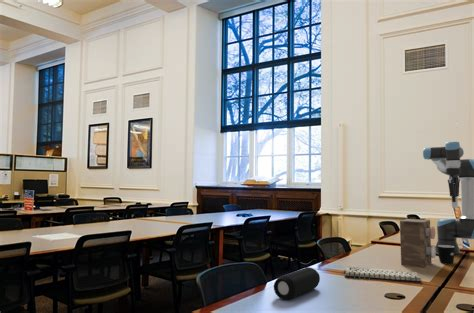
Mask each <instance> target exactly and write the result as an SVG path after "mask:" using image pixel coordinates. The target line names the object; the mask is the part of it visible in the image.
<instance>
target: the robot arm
mask: <svg viewBox="0 0 474 313" xmlns="http://www.w3.org/2000/svg"><path fill="white" fill-rule="evenodd" d="M463 149H464V148H462V147H461V145H460V142H459V141H447V142H445V146H436V147H435V146H433V147H431V146H430V147H424V148H423V150H422V157H423V158H424V160H431V162H433V164H435V166H436V169H437V170H438V171H439V172H440V173H442V174H444V175H447V176H449V177H448V179H447V183H448V189H449V191H448V192H449V197H451V207H452V208H453V209H455V208H457V209H458V207H459V204H458V202H459V200H458V197H460V196H461V200H460V201H461V216H459V217H458V218H459V220H457V219H456V218H442V219H437V221H436V227H437V228H436V235H437V243H436V245H435V248H436V254H438V245H449V246H454V248H455V252H454V255H459V254H461V249H460V247H459V244H458V241H457V239H467V240H474V159H473V158H471V159H470V158H466V159H461V158H462V157H463V156H464V154H465V153H464V152H465V151H464V150H463ZM460 189H461V191H460ZM460 192H461V194H460Z"/></svg>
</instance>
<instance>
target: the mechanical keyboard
mask: <svg viewBox="0 0 474 313" xmlns="http://www.w3.org/2000/svg"><path fill="white" fill-rule="evenodd" d="M343 275H344V279H347V280H360V281H361V280H362V281H379V282H393V283H406V282H408V283H410V284H422V283H421V282H422V278H421V276H420V275H419V273H418V272H416V271H411V272H410V271H405V270H404V271H402V270H396V271H395V269H381V268H368V267H367V268H364V267H362V268H361V267H359V266H346V269H345V270H343Z"/></svg>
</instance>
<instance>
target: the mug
mask: <svg viewBox="0 0 474 313" xmlns="http://www.w3.org/2000/svg"><path fill="white" fill-rule="evenodd" d="M454 252H455V248H454V246H449V245H438V253H437V254H438V259H439V262H440V263H441V264H443V265H444V264H445V265H453V263H454V260H455V254H454Z"/></svg>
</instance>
